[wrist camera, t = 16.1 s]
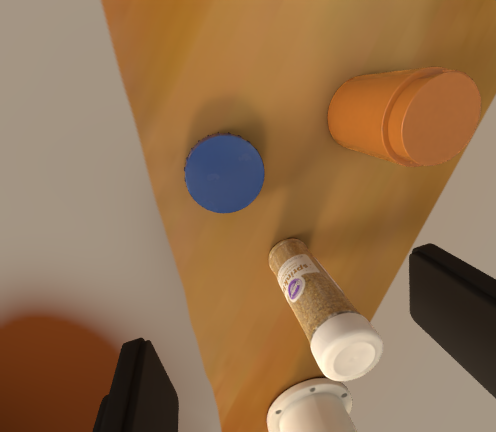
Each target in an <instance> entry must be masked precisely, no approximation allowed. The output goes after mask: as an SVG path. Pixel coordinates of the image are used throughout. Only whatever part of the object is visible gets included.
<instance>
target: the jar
mask: <svg viewBox="0 0 496 432" xmlns="http://www.w3.org/2000/svg"><path fill="white" fill-rule="evenodd" d="M480 113H481V98H480V93H479V90H478V88H477V86H476V84H475V83H474V81H473V79H471V78H470V77H469V76H468V75H466V73H464V72H460V71H457V70H449V69H446V68H443V67H426V68H418V69H410V70H401V71H393V72H384V73H376V74H368V75H360V76H356V77H353V78H351V79H349V80H348V81H346V82H345V83H344V84H342V85H341V87H340V88H339V89H338V90H337V91H336V93H335V94H334V96H333V98H332V100H331V102H330V105H329V109H328V127H329V130H330V133H331V135H332V137H333V138H334V139H335V141H336V142H337V143H339V144H340V145H341V146H344V147H346V148H349V149H352V150H355V151H359V152H362V153H365V154H368V155H371V156H374V157H378V158H381V159H384V160H387V161H390V162H393V163H396V164H400V165H403V166H407V167H417V166H423V165H427V166H431V165H438V164H441V163H444V162H446V161H448V160H450V159H451V158H453V157H454V156H455V155H457V154H458V153H459V152H460V151H461V150H462V149H463V148H464V147H465V146H466V144H467V143H468V142H469V140H470V139H471V137H472V136H473V134H474V132H475V130H476V127H477V125H478V121H479V118H480Z"/></svg>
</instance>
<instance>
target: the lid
mask: <svg viewBox="0 0 496 432" xmlns="http://www.w3.org/2000/svg"><path fill="white" fill-rule="evenodd" d="M184 171H185V182H186V184H187V188H188V191H189V192H190V194H191V196H192V197H193V199H194V200H195V201H196V202H197V203H198V204H199V205H201V206H202V207H204V208H205V209H207V210H210V211H213V212H217V213H231V212H235V211H238V210H241V209H243V208H245V207H246V206H248V205H249V204H250V203H251V202H252V201H253V200H254V199H255V198H256V197H257V195H258V194H259V192H260V190H261V188H262V185H263V181H264V165H263V162H262V159H261V157H260V155H259V153H258V151H257V149H255V148H254V147H253V146H252V145H251V144H250V142H249V141H246V140H244V139H243V138H241V136H239V135H238V136H237V135H234V134H230V133H229V132H228V133H219V132H218V133H217V134H213V135H210V136H209V135H207V137H205V138H203V139H202V140H201V141H198V143H197V144H196V145H195V146H194V147H193V148H191V152H190V153H189V155H188V157H187V158H186V166H185V167H184Z"/></svg>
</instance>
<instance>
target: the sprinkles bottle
mask: <svg viewBox="0 0 496 432" xmlns="http://www.w3.org/2000/svg"><path fill="white" fill-rule="evenodd" d="M269 266H270V268H271V269H272V271H273V272H274V274H275V275H276V277H277V279H278V283H279V285H280V287H281V289H282V291H283V293H284V295H285V297H286V299H287V301H288V303H289V305H290V306H291V308H292V310H293V311H294V313H295V315H296V317H297V319H298V321H299V323H300V325H301V327H302V328H303V330H304V332H305V334H306V336H307V338H308V340H309V342H310V347H311V351H312V354H313V356H314V358H315V360H316V362H317V364H318V365H319V367H320V369H321V371H322V373H323V374H324V375H325V376H326V377H328V378H329V379H331V380H334V381H350V380H353V379H356V378H359V377H361V376H363V375H364V374H366V373H368V372H369V371H370V370H371V369H372V368H373V367H374V366H375V365H376V364H377V363H378V361H379V360H380V358H381V356H382V352H383V342H382V339H381V337H380V336H379V334H378V333H377V331H376V330H375V329H374V327H372V325H371V324H370V322H369V321H368V320H367V319H366V318H365V317H364V316H362V315H361V314H360V313H358V312H357V310H356V309H355V308H354V306H353V305H352V304H351V303H350V301H349V300H348V299H347V298H346V296H345V294H344V292H343V291H342V290H341V288H340V287H339V286H338V285H337V283H336V282H335V281H334V280H333V278H332V277H331V276H330V275H329V274H328V272H327V271H326V270H325V269H324V267H323V266H322V265H321V264H320V263H319V261H318V260H317V259H316V258H315V257H313V255H312V254H311V253H310V252H309V250H308V248H307V246H306V245H305V243H303V242H302V241H300V240H298V239H286V240H283V241H280V242H279V243H278V244H277V245H275V246H274V247H273V248H272V250H271V251H270V254H269Z"/></svg>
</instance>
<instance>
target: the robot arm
mask: <svg viewBox="0 0 496 432" xmlns="http://www.w3.org/2000/svg"><path fill="white" fill-rule="evenodd" d="M409 280H410V281H409V284H410V314H411V316H412V318H413V320H414V321H415V322H416V323H417V324H418V325H419V326H420V327H421V328H422V329H423V330H425V332H427V333H428V334H429V335H430V336H431V337H432V338H433V339H434V340H435V341H436V342H437V343H438V344H439V345H440V346H441V347H442V348H443V349H444V350H445V351H447V352H448V353H449V354H450V355H451V356H452V357H453V358H454V359H455V360H456V361H457V362H458V363H459V364H460V365H461V366H462V367H463V368H464V369H465V370H466V371H468V372H469V373H470V374H471V375H472V376H473V377H474V378H475V379H476V380H477V381H478V382H479V383H480V384H481V385H482V386H483V387H484V388H486V390H488V392H490V393H491V394H492V395H493V396H494V397H495V398H496V279H494V278H492V277H490V276H489V275H487V274H485V273H483V272H481V271H480V270H478V269H476V268H475V267H473V266H471V265H469V264H467V263H466V262H464V261H462V260H461V259H459V258H457V257H455V256H453V255H452V254H450V253H448V252H446V251H445V250H443V249H441V248H439V247H438V246H436V245H434V244H426V245H423V246H420V247H417V248H414V249H413V251H412V254H410V256H409ZM178 404H179V403H178V397H177V393H176V391H175V389H174V387H173V385H172V383H171V381H170V379H169V377H168V375H167V373H166V371H165V369H164V367H163V365H162V363H161V361H160V359H159V357H158V355H157V353H156V351H155V349H154V347H153V345H152V343H151V341H150V340H147V341H145V340H144V339H143V338H139V339H135V340H132V341H129V342H126V343H124V344H123V346H122V349H121V352H120V356H119V359H118V363H117V367H116V370H115V374H114V378H113V382H112V385H111V389H110V393H109V394H108V395H106V396H105V397H104V398H103V400H102V402H101V405H100V408H99V411H98V415H97V418H96V422H95V425H94V428H93V432H178V410H179V408H178V407H179V405H178ZM351 409H352V397H351V394H350V393H349V391H348V389H347V388H346V386H345V385H344V384H342V383H341V382H339V381H334V380H331V379H328V378H316V379H311V380H307V381H304V382H301V383H299V384H296V385H294V386H292V387H291V388H289V389H288V390H286V391H285V392H283V393H282V394H281V395H280V396H279V397H278V398H277V399H276V400H275V401H274V402H273V404H272V406H271V407H270V409H269V412H268V414H267V425H268V430H269V432H357V430H356V428H355V426H354V424H353V422H352V421H351V418H350V417H349V414H350V412H351Z"/></svg>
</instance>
